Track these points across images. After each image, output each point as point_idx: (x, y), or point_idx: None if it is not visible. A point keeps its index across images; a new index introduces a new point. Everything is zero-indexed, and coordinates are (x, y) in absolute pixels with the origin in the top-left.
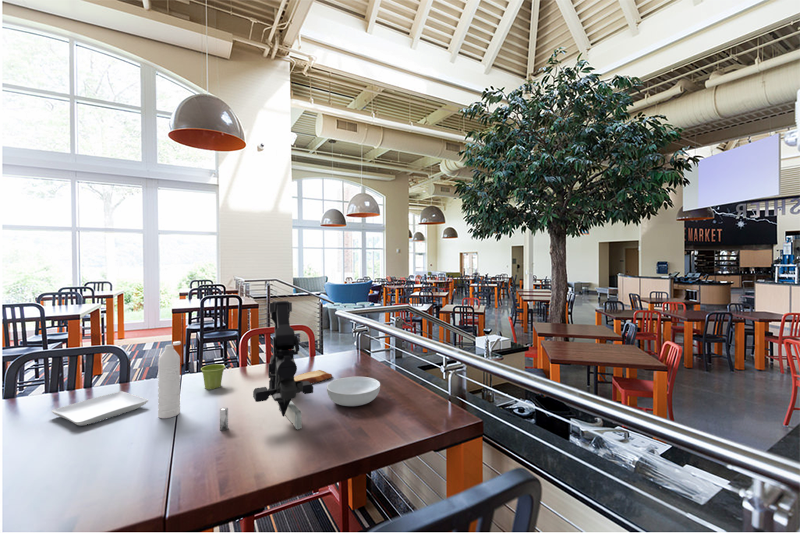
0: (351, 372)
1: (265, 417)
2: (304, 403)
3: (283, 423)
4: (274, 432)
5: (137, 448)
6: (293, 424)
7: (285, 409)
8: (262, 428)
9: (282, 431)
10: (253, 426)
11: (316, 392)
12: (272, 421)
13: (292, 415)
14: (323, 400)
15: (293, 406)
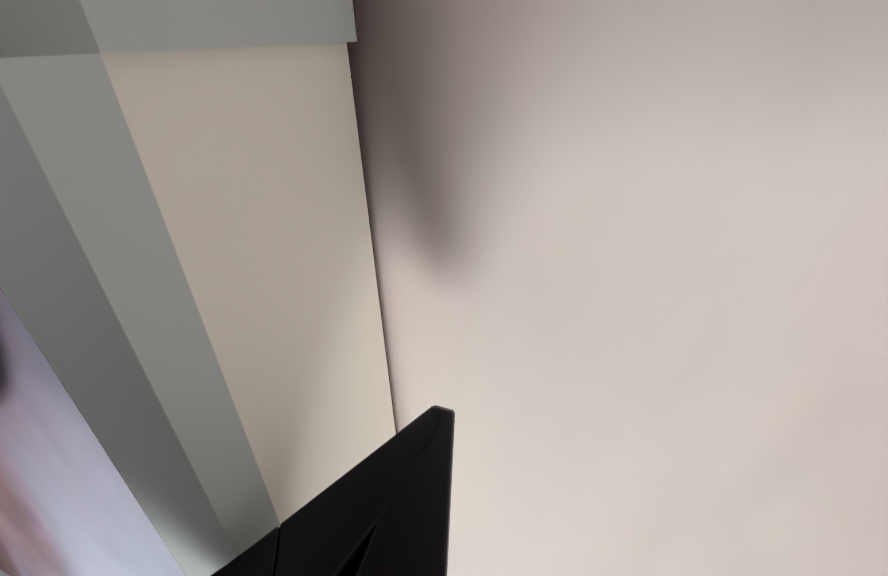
0: (29, 572)
1: (599, 572)
2: None
3: (476, 332)
4: (753, 117)
5: None
6: (359, 175)
7: (354, 496)
8: (819, 398)
9: (597, 62)
10: (878, 527)
11: (161, 560)
12: (576, 463)
13: (291, 290)
14: (101, 457)
15: (140, 449)
